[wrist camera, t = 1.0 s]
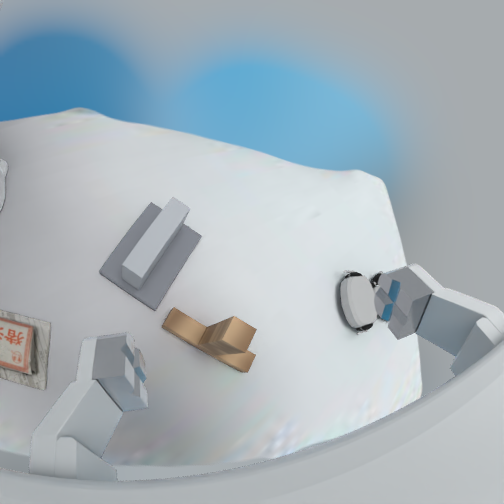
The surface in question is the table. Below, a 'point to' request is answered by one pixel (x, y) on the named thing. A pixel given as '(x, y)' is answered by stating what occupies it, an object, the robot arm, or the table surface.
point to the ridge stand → (152, 253)
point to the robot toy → (359, 300)
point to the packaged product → (24, 349)
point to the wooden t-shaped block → (215, 338)
